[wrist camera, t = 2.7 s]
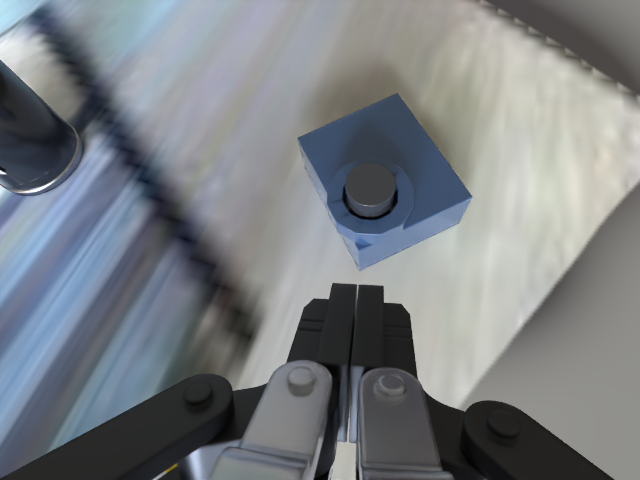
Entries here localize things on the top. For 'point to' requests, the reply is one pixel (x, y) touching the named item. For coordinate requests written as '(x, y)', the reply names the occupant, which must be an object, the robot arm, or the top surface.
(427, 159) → the blue square base
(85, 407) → the top surface
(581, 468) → the robot arm
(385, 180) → the button
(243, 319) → the top surface
